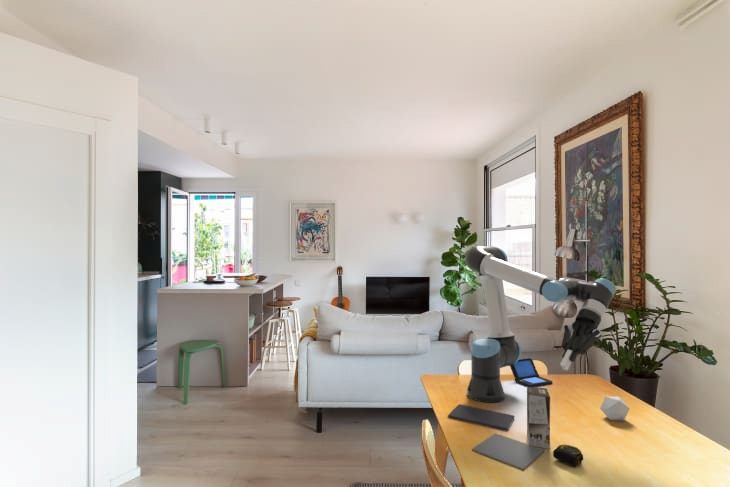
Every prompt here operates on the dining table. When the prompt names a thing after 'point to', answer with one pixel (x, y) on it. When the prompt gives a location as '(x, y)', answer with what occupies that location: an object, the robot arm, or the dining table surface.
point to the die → (614, 408)
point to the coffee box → (538, 417)
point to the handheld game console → (527, 373)
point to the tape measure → (568, 455)
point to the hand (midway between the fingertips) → (563, 367)
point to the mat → (508, 451)
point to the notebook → (482, 417)
